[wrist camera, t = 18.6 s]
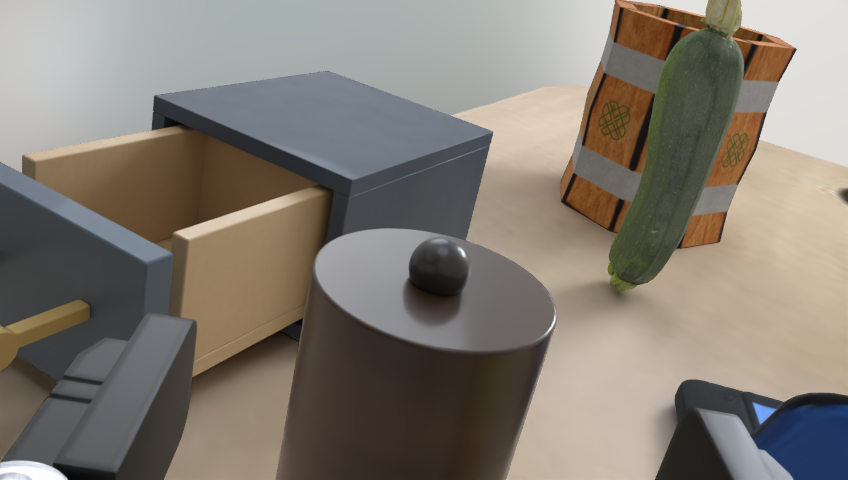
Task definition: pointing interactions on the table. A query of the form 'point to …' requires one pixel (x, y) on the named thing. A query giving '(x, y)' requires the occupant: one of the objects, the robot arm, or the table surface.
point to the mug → (632, 109)
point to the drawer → (152, 245)
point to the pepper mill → (413, 360)
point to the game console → (783, 426)
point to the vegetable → (680, 144)
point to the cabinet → (347, 148)
